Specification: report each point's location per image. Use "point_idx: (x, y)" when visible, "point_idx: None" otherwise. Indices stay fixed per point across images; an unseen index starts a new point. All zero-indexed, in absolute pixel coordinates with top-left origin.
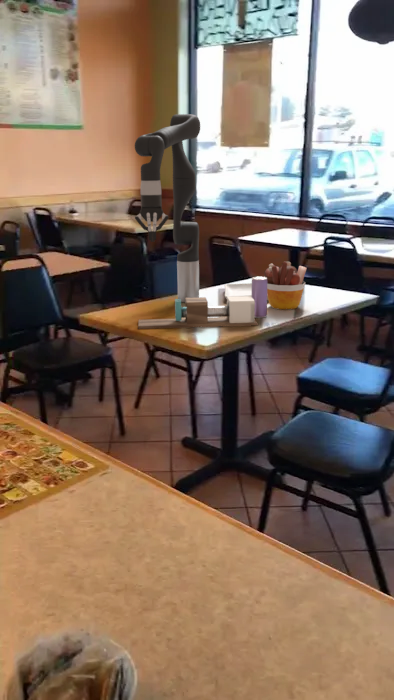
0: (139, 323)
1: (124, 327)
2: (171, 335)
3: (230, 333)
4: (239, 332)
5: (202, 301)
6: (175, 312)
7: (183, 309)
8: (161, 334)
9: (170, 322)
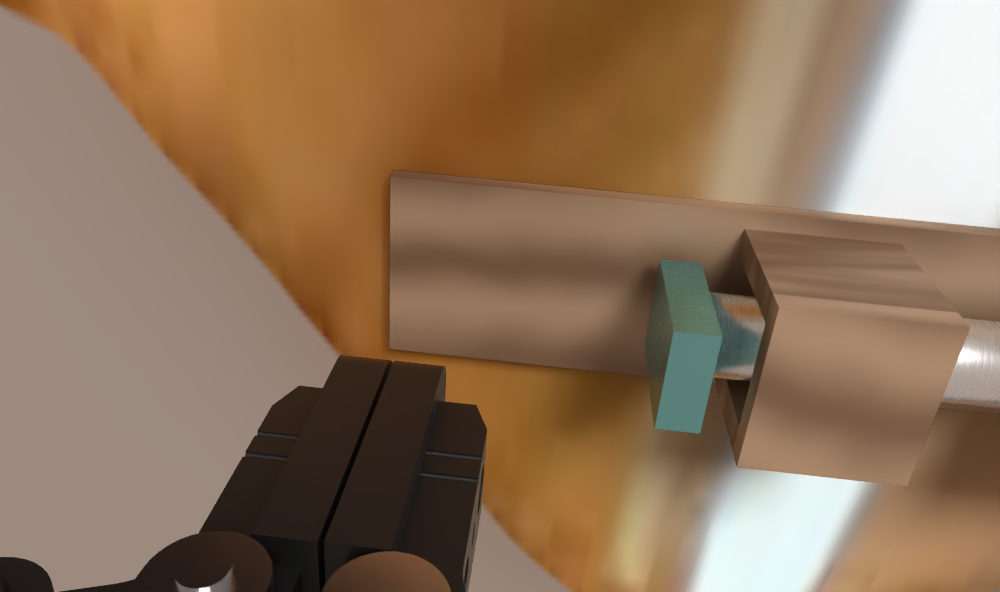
0: (396, 285)
1: (302, 285)
2: (575, 501)
3: (916, 536)
4: (978, 530)
5: (873, 464)
6: (655, 331)
7: (714, 376)
8: (522, 473)
9: (610, 304)
